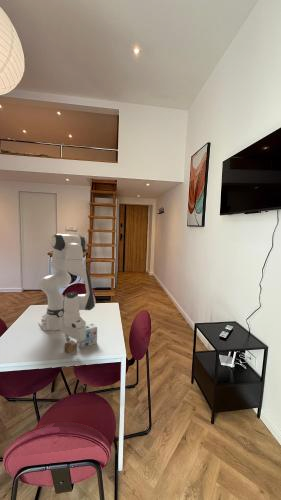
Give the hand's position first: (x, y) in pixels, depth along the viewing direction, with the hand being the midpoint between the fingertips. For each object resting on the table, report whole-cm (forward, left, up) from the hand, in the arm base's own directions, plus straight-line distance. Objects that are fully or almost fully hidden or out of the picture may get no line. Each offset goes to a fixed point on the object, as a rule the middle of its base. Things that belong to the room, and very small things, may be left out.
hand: (72, 343), depth 129 cm
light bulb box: (-1, +11, -5) cm, 12 cm away
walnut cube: (-1, -1, -5) cm, 5 cm away
